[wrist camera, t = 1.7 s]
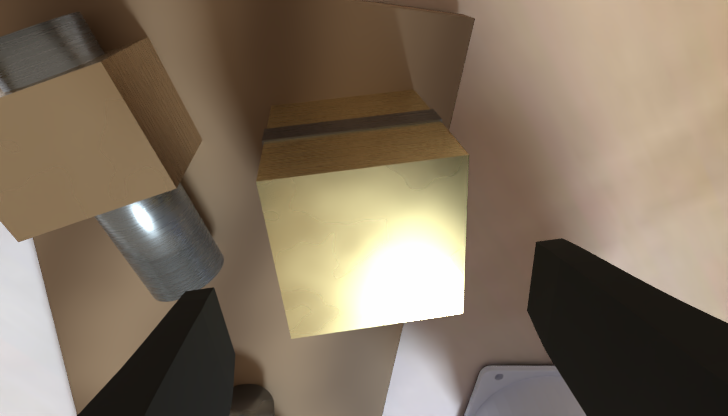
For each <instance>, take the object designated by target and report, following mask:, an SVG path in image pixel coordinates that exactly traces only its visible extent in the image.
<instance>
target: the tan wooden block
mask: <svg viewBox="0 0 728 416" xmlns="http://www.w3.org/2000/svg"><path fill="white" fill-rule="evenodd" d="M262 144H263V150H262V155H261V159H260V164H259V169H258V174H257V179H256V184H257V188H258V193H259V197H260V202H261V206H262V210H263V215H264V219H265V224H266V228H267V233H268V237H269V242H270V246H271V251H272V255H273V260H274V264H275V269H276V273H277V277H278V282H279V286H280V291H281V295H282V300H283V304H284V309H285V313H286V318H287V322H288V327H289V331H290V336H291V339H295V338H301V337H308V336H315V335H322V334H328V333H335V332H342V331H349V330H355V329H362V328H369V327H376V326H382V325H389V324H396V323H402V322H409V321H416V320H423V319H429V318H436V317H443V316H450V315H456V314H463V301H464V274H465V247H466V220H467V193H468V166H469V154H468V153H467V152H466V151H465V150H464V148H463V147H462V146H461V145H460V144H459V142H458V141H457V140H456V139H455V138H454V137H453V135H452V134H451V133H450V132H449V131H448V129H447V128H446V127H445V126H444V125H443V123H442V118H441V117H440V116H439V115H438V114H437V112H436V111H435V110H434V109H430V108H429V107H428V106H427V104H426V103H425V102H424V101H423V100H422V98H421V97H420V96H419V95H418V94H417V92H416V91H415V90H405V91H396V92H387V93H379V94H370V95H361V96H353V97H344V98H335V99H327V100H318V101H309V102H300V103H292V104H283V105H274V106H271V110H270V115H269V120H268V125H267V129H264V133H263V138H262Z"/></svg>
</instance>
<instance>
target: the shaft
mask: <svg viewBox="0 0 728 416" xmlns="http://www.w3.org/2000/svg"><path fill="white" fill-rule="evenodd" d="M0 89H1V90H0V221H1V222H2V224H3V225H4V226H5V227H6V228H7V229H8V231H9V232H10V233H11V234H12V235H13V236H14V237H15V239H16V240H17V241H18V242H20V241H23V240H26V239H29V238H32V237H35V236H38V235H41V234H44V233H47V232H50V231H53V230H56V229H59V228H62V227H65V226H67V225H70V224H73V223H76V222H79V221H82V220H85V219H88V218H91V217H95V218H96V220H97V221H98V222H99V224H100V225H101V226H102V228H103V229H104V230H105V232H106V233H107V235H108V236H109V237H110V239H111V240H112V241H113V243H114V244H115V245H116V247H117V248H118V250H119V251H120V252H121V254H122V255H123V256H124V258H125V259H126V260H127V262H128V263H129V265H130V266H131V267H132V269H133V270H134V271H135V273H136V274H137V275H138V277H139V278H140V280H141V281H142V282H143V284H144V285H145V286H146V288H147V289H148V290H149V292H150V293H151V295H152V296H153V297H154V299H156V300H158V301H161V302H170V301H175V300H179V298H180V297H181V296H182V295H183V294H184V293H185V291H191V290H198V289H201V288H203V287H204V286H205V285H207V284H208V283H209V282H210V281H211V280H213V278H214V277H215V276H216V275H217V274H218V273H219V271H220V270H221V268H222V266H223V263H224V256H223V254H222V252H221V251H220V249H219V247H218V246H217V244H216V242H215V241H214V239H213V237H212V235H211V234H210V232H209V230H208V229H207V227H206V225H205V224H204V222H203V220H202V218H201V217H200V215H199V213H198V212H197V210H196V208H195V207H194V205H193V203H192V201H191V200H190V198H189V196H188V195H187V193H186V191H185V190H184V188H183V186H182V184H181V183H180V181H181V179H182V177H183V176H184V174H185V172H186V170H187V168H188V166H189V164H190V163H191V161H192V159H193V157H194V155H195V153H196V151H197V150H198V148H199V146H200V144H201V142H202V138H201V136H200V134H199V132H198V130H197V128H196V126H195V125H194V123H193V121H192V119H191V117H190V115H189V113H188V111H187V109H186V108H185V106H184V104H183V102H182V100H181V98H180V96H179V94H178V92H177V91H176V89H175V87H174V85H173V83H172V81H171V79H170V77H169V75H168V74H167V72H166V70H165V68H164V66H163V64H162V62H161V60H160V58H159V56H158V55H157V53H156V51H155V49H154V47H153V45H152V43H151V41H150V39H149V38H148V37H146V38H143V39H140V40H137V41H135V42H132V43H129V44H126V45H123V46H121V47H118V48H115V49H112V50H109V51H107V52H103V50H102V48H101V47H100V45H99V43H98V41H97V40H96V38H95V36H94V35H93V33H92V31H91V30H90V28H89V26H88V24H87V23H86V21H85V19H84V18H83V16H82V14H81V13H80V12H75V13H72V14H68V15H65V16H61V17H58V18H55V19H52V20H49V21H45V22H42V23H39V24H36V25H33V26H30V27H27V28H24V29H21V30H19V31H16V32H13V33H10V34H7V35H4V36H2V37H0Z"/></svg>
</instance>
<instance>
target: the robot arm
mask: <svg viewBox="0 0 728 416" xmlns="http://www.w3.org/2000/svg"><path fill="white" fill-rule="evenodd" d="M527 311H528V313H529V316H530V318H531V320H532V322H533V325H534V327H535V329H536V332H537V334H538V336H539V338H540V340H541V342H542V344H543V346H544V348H545V350H546V352H547V353H548V355H549V357H550V358H551V360H552V362H553V363H554V365H555V366H486V367H484V368H483V369H482V370H481V371H480V373H479V376H478V379H477V382H476V384H475V387H474V390H473V393H472V395H471V398H470V401H469V404H468V406H467V409H466V412H465V415H464V416H728V323H726V322H724V321H722V320H720V319H718V318H716V317H713V316H711V315H709V314H707V313H705V312H703V311H701V310H699V309H697V308H695V307H693V306H690V305H688V304H686V303H684V302H682V301H680V300H678V299H676V298H674V297H672V296H670V295H668V294H666V293H664V292H662V291H661V290H659V289H657V288H655V287H653V286H651V285H649V284H647V283H645V282H643V281H642V280H640V279H638V278H636V277H634V276H632V275H630V274H629V273H627V272H625V271H623V270H621V269H619V268H618V267H616V266H614V265H612V264H610V263H608V262H607V261H605V260H603V259H601V258H599V257H597V256H596V255H594V254H592V253H590V252H588V251H586V250H584V249H583V248H581V247H579V246H577V245H575V244H573V243H571V242H569V241H567V240H565V239H554V240H547V241H540V242H536V247H535V255H534V262H533V270H532V277H531V285H530V293H529V300H528V308H527ZM234 369H235V351H234V348H233V345H232V342H231V339H230V336H229V333H228V329H227V326H226V323H225V320H224V317H223V314H222V310H221V307H220V304H219V301H218V298H217V295H216V292H215V288H214V287H212V288H205V289H198V290H191V291H185V293H184V294H183V295H182V296H181V297H180V298H179V300H178V301H177V302H176V303H175V304H174V306H173V307H172V308H171V309H170V310H169V312H168V313H167V314H166V315H165V316H164V318H163V319H162V320H161V321H160V322H159V324H158V325H157V326H156V327H155V329H154V330H153V331H152V332H151V333H150V335H149V336H148V337H147V338H146V339H145V341H144V342H143V343H142V344H141V345H140V347H139V348H138V349H137V350H136V351H135V352H134V354H133V355H132V356H131V357H130V358H129V359H128V361H127V362H126V363H125V364H124V365H123V366H122V368H121V369H120V370H119V371H118V372H117V373H116V374H115V375H114V376H113V377H112V379H111V380H110V381H109V382H108V383H107V384H106V385H105V386H104V387H103V388H102V389H101V390H100V391H99V393H98V394H97V395H96V396H95V397H94V398H93V399H92V400H91V401H90V402H89V403H88V404H87V406H86V407H85V408H84V409H83V410H82V411H81V412H80V413H79V414H78V415H77V416H229V414H230V409H231V403H232V397H233V384H234Z"/></svg>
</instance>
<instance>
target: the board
mask: <svg viewBox="0 0 728 416" xmlns="http://www.w3.org/2000/svg"><path fill="white" fill-rule="evenodd" d="M75 12H80V13H81V14H82V16H83V18H84V19H85V21H86V23H87V24H88V26H89V28H90V30H91V31H92V33H93V35H94V36H95V38H96V40H97V41H98V43H99V45H100V47H101V48H102V50H103V52H107V51H109V50H112V49H115V48H118V47H121V46H123V45H126V44H129V43H132V42H135V41H137V40H140V39H143V38H146V37H148V38H149V39H150V41H151V43H152V45H153V47H154V49H155V51H156V53H157V55H158V56H159V58H160V60H161V62H162V64H163V66H164V68H165V70H166V72H167V74H168V75H169V77H170V79H171V81H172V83H173V85H174V87H175V89H176V91H177V92H178V94H179V96H180V98H181V100H182V102H183V104H184V106H185V108H186V109H187V111H188V113H189V115H190V117H191V119H192V121H193V123H194V125H195V126H196V128H197V130H198V132H199V134H200V136H201V138H202V142H201V144H200V146H199V148H198V150H197V151H196V153H195V155H194V157H193V159H192V161H191V163H190V164H189V166H188V168H187V170H186V172H185V174H184V176H183V177H182V179H181V181H180V183H181V184H182V186H183V188H184V190H185V191H186V193H187V195H188V196H189V198H190V200H191V201H192V203H193V205H194V207H195V208H196V210H197V212H198V213H199V215H200V217H201V218H202V220H203V222H204V224H205V225H206V227H207V229H208V230H209V232H210V234H211V235H212V237H213V239H214V241H215V242H216V244H217V246H218V247H219V249H220V251H221V252H222V254H223V256H224V263H223V266H222V268H221V270H220V271H219V273H218V274H217V275H216V276H215V277H214V278H213V280H211V281H210V282H209V283H208V284H207V285H205V286H204V287H203V288H201V289H205V288H212V287H214V288H215V292H216V295H217V298H218V301H219V304H220V307H221V310H222V314H223V317H224V320H225V323H226V326H227V329H228V333H229V336H230V339H231V342H232V345H233V348H234V351H235V369H234V384H233V387H235V386H238V385H242V384H255V385H259V386H262V387H263V388H265V389H266V390H268V391H269V393H270V394H271V395H272V397H273V400H274V409H275V416H382V413H383V409H384V405H385V400H386V396H387V392H388V388H389V383H390V379H391V375H392V371H393V366H394V362H395V358H396V353H397V349H398V345H399V341H400V336H401V332H402V328H403V324H404V322H402V323H396V324H389V325H382V326H376V327H369V328H362V329H355V330H349V331H342V332H335V333H328V334H322V335H315V336H308V337H301V338H295V339H291V336H290V331H289V327H288V322H287V318H286V313H285V309H284V304H283V300H282V295H281V291H280V286H279V282H278V277H277V273H276V269H275V264H274V260H273V255H272V251H271V246H270V242H269V237H268V233H267V228H266V224H265V219H264V215H263V210H262V206H261V202H260V197H259V193H258V188H257V184H256V179H257V174H258V169H259V164H260V159H261V155H262V150H263V144H262V138H263V133H264V129H267V125H268V120H269V115H270V110H271V106H274V105H283V104H292V103H300V102H309V101H318V100H327V99H335V98H344V97H353V96H361V95H370V94H379V93H387V92H396V91H405V90H415V91H416V92H417V94H418V95H419V96H420V97H421V98H422V100H423V101H424V102H425V103H426V104H427V106H428V107H429V108H430V109H434V110H435V111H436V112H437V114H438V115H439V116H440V117H441V118H442V123H443V125H444V126H445V127H446V128H447V129H448V131H449V127H450V123H451V119H452V114H453V110H454V106H455V101H456V97H457V93H458V89H459V84H460V80H461V76H462V72H463V67H464V63H465V59H466V55H467V50H468V46H469V42H470V37H471V33H472V29H473V25H474V20H475V19H474V18H471V17H469V16H466V15H463V14H455V13H448V12H441V11H434V10H427V9H420V8H413V7H406V6H399V5H392V4H384V3H377V2H370V1H363V0H0V37H2V36H4V35H7V34H10V33H13V32H16V31H19V30H21V29H24V28H27V27H30V26H33V25H36V24H39V23H42V22H45V21H49V20H52V19H55V18H58V17H61V16H65V15H68V14H72V13H75ZM0 90H1V89H0ZM33 240H34V244H35V248H36V252H37V256H38V260H39V264H40V268H41V272H42V276H43V280H44V284H45V288H46V292H47V296H48V300H49V304H50V308H51V312H52V316H53V320H54V324H55V328H56V332H57V336H58V340H59V344H60V348H61V352H62V356H63V360H64V364H65V368H66V372H67V376H68V380H69V384H70V388H71V392H72V396H73V400H74V404H75V408H76V412H77V415H78V414H79V413H80V412H81V411H82V410H83V409H84V408H85V407H86V406H87V404H88V403H89V402H90V401H91V400H92V399H93V398H94V397H95V396H96V395H97V394H98V393H99V391H100V390H101V389H102V388H103V387H104V386H105V385H106V384H107V383H108V382H109V381H110V380H111V379H112V377H113V376H114V375H115V374H116V373H117V372H118V371H119V370H120V369H121V368H122V366H123V365H124V364H125V363H126V362H127V361H128V359H129V358H130V357H131V356H132V355H133V354H134V352H135V351H136V350H137V349H138V348H139V347H140V345H141V344H142V343H143V342H144V341H145V339H146V338H147V337H148V336H149V335H150V333H151V332H152V331H153V330H154V329H155V327H156V326H157V325H158V324H159V322H160V321H161V320H162V319H163V318H164V316H165V315H166V314H167V313H168V312H169V310H170V309H171V308H172V307H173V306H174V304H175V303H176V302H177V301H178V300H175V301H170V302H161V301H158V300H156V299H154V297H153V296H152V295H151V293H150V292H149V290H148V289H147V288H146V286H145V285H144V284H143V282H142V281H141V280H140V278H139V277H138V275H137V274H136V273H135V271H134V270H133V269H132V267H131V266H130V265H129V263H128V262H127V260H126V259H125V258H124V256H123V255H122V254H121V252H120V251H119V250H118V248H117V247H116V245H115V244H114V243H113V241H112V240H111V239H110V237H109V236H108V235H107V233H106V232H105V230H104V229H103V228H102V226H101V225H100V224H99V222H98V221H97V220H96V218H95V217H91V218H88V219H85V220H82V221H79V222H76V223H73V224H70V225H67V226H65V227H62V228H59V229H56V230H53V231H50V232H47V233H44V234H41V235H38V236H35V237H33Z"/></svg>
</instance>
